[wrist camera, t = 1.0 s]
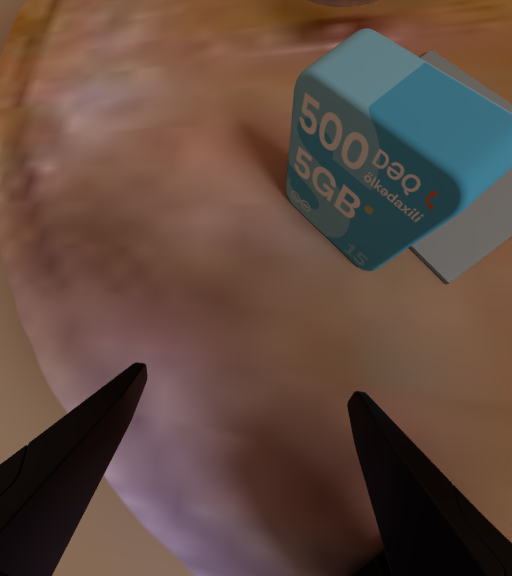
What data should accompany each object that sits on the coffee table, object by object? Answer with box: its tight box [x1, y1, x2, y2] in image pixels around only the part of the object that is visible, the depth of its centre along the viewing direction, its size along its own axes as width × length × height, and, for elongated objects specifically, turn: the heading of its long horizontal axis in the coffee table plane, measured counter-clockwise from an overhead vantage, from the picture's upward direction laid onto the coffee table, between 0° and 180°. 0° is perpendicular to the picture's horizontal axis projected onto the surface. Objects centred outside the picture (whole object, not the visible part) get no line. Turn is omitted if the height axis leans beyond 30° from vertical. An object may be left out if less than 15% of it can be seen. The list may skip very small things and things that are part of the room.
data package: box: [286, 29, 512, 271], centre depth 16 cm, size 12×4×12 cm, turn 40°
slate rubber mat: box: [409, 50, 512, 284], centre depth 23 cm, size 22×20×1 cm
